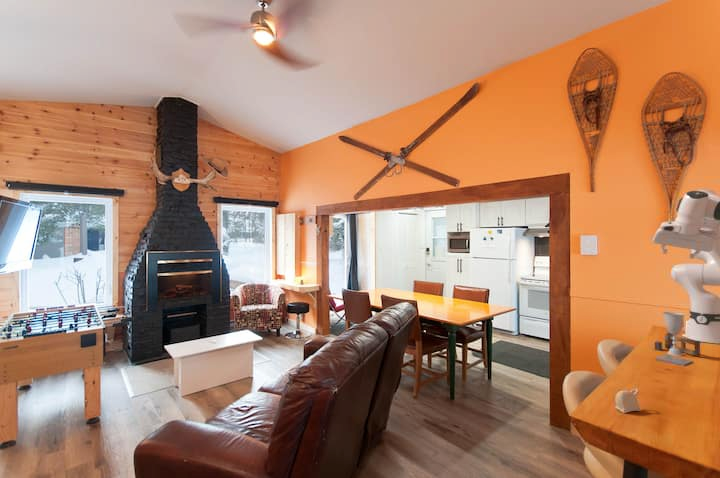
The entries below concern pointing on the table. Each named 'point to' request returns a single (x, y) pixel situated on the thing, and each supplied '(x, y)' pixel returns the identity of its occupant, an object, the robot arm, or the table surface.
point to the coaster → (674, 360)
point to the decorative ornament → (627, 401)
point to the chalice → (674, 329)
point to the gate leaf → (683, 344)
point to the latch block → (658, 345)
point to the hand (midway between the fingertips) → (677, 255)
